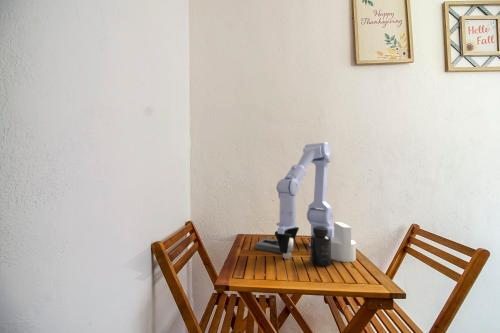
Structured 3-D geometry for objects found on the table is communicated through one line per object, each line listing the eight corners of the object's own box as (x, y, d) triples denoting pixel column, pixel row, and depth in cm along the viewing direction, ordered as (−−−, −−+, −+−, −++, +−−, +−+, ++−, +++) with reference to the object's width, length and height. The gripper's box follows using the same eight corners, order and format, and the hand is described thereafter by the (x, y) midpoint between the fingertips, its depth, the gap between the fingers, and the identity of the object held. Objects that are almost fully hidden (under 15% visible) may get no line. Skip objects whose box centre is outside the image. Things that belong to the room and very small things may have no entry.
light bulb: (294, 257, 82) (294, 238, 82) (291, 261, 78) (291, 241, 78) (283, 255, 84) (283, 236, 84) (279, 259, 80) (279, 239, 80)
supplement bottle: (331, 261, 79) (331, 226, 80) (331, 268, 73) (331, 231, 73) (310, 258, 81) (311, 225, 82) (309, 265, 75) (309, 229, 75)
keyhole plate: (291, 246, 94) (291, 241, 94) (283, 253, 85) (283, 248, 85) (265, 242, 100) (265, 237, 100) (255, 248, 91) (255, 243, 91)
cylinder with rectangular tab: (326, 252, 88) (326, 221, 88) (349, 253, 88) (349, 222, 88) (334, 261, 79) (334, 227, 79) (360, 262, 79) (360, 227, 79)
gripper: (283, 208, 90) (283, 242, 89) (269, 213, 77) (269, 253, 77) (301, 210, 87) (300, 245, 86) (289, 215, 74) (289, 257, 73)
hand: (287, 249), depth 81 cm, fingers open, 7 cm apart
